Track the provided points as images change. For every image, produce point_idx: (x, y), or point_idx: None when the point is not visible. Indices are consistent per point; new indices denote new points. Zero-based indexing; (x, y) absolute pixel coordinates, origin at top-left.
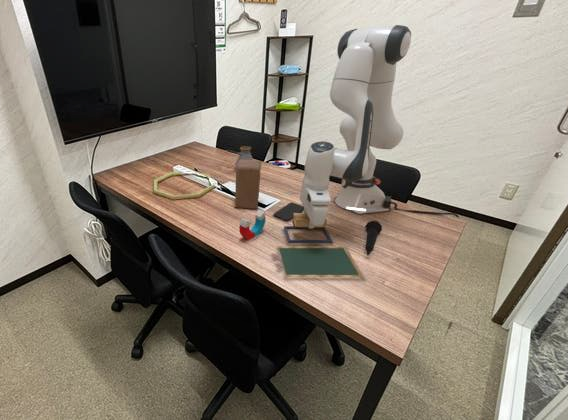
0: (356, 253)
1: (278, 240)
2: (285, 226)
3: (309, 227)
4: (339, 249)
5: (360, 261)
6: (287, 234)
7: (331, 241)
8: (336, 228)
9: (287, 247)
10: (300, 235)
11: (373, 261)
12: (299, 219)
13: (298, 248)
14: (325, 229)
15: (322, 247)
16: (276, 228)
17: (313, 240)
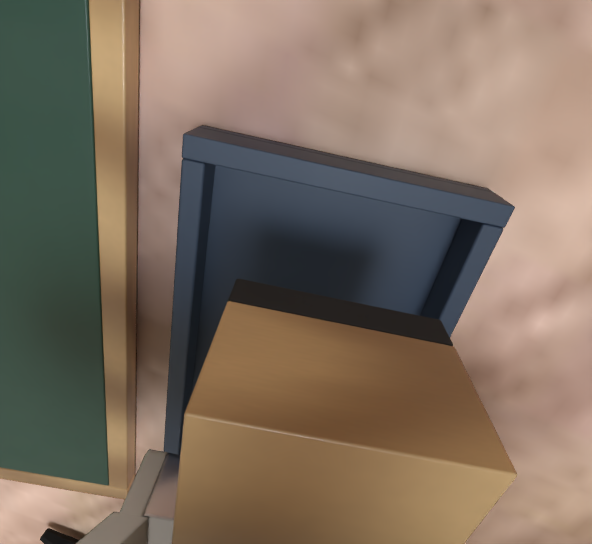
0: (90, 506)
1: (311, 35)
2: (498, 219)
3: (145, 461)
4: (90, 463)
5: (15, 490)
6: (320, 172)
7: None
8: None
9: (100, 74)
10: None
11: (25, 531)
12: (203, 472)
13: (87, 195)
14: None
15: (112, 387)
16: (565, 116)
17: (173, 371)
